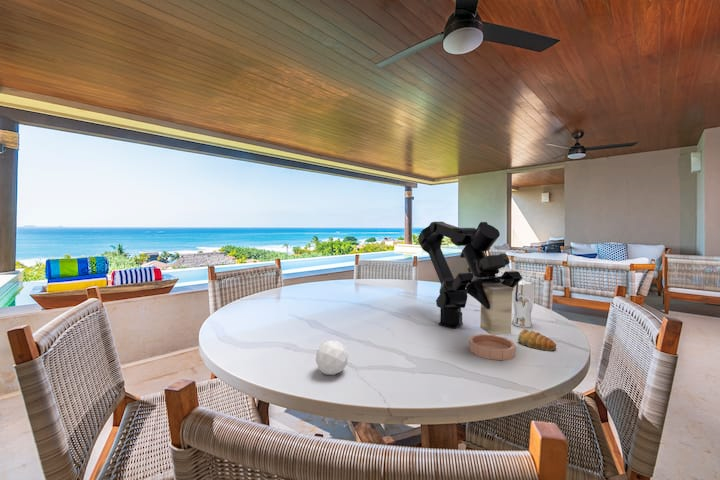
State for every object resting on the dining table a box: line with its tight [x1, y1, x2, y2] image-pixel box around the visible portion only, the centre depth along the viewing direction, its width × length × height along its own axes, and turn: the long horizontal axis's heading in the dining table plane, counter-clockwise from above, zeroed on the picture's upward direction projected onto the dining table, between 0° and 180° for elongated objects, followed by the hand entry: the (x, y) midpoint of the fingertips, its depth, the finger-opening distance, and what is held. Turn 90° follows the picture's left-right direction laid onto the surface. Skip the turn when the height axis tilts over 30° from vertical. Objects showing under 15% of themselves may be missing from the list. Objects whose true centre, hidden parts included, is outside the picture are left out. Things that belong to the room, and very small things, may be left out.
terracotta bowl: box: [468, 333, 517, 361], centre depth 85 cm, size 12×12×2 cm
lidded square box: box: [480, 283, 513, 336], centre depth 83 cm, size 6×6×12 cm
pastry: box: [517, 328, 557, 352], centre depth 89 cm, size 9×7×4 cm
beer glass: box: [512, 280, 536, 329], centre depth 106 cm, size 7×7×15 cm
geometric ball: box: [315, 339, 349, 376], centre depth 74 cm, size 8×8×8 cm
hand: (499, 307), depth 81 cm, fingers closed on lidded square box, 5 cm apart
